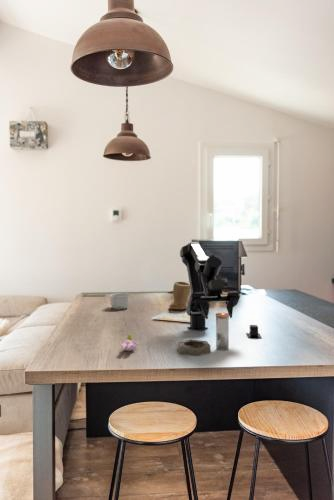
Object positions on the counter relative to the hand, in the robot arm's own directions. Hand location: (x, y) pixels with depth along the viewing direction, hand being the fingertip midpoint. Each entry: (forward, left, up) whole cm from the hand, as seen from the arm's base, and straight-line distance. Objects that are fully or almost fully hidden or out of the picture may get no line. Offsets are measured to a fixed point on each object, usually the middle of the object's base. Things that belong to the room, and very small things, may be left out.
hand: (219, 318), depth 157 cm
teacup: (-94, +13, -11) cm, 95 cm away
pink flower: (-15, -29, -11) cm, 35 cm away
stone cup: (-72, +39, -11) cm, 82 cm away
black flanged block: (-3, +22, -11) cm, 25 cm away
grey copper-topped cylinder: (+3, -1, -10) cm, 11 cm away
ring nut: (-1, -11, -10) cm, 15 cm away
